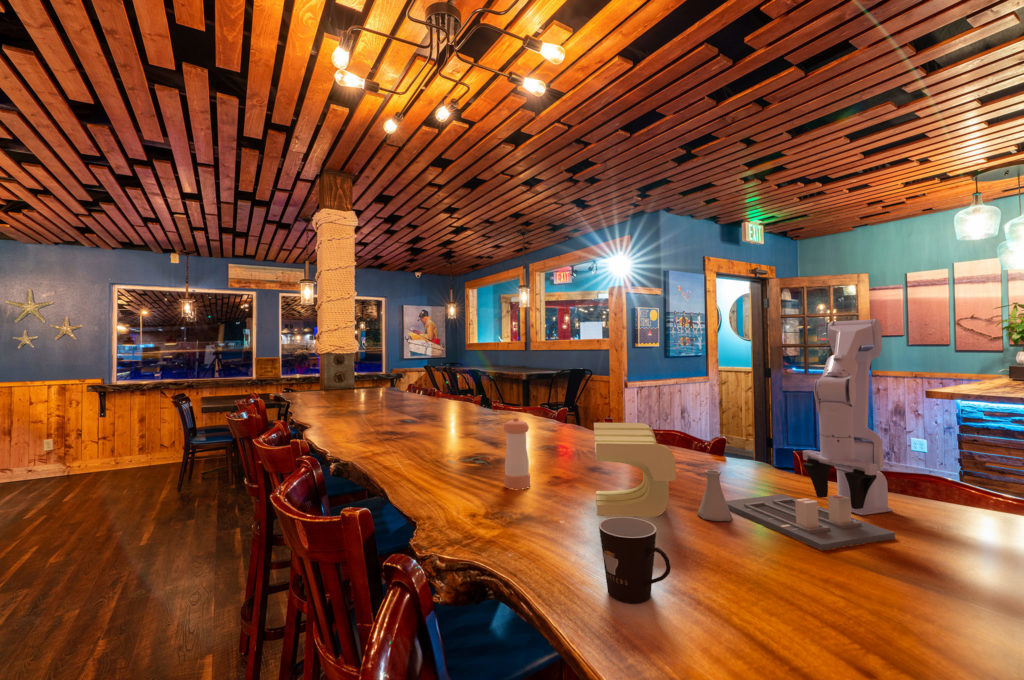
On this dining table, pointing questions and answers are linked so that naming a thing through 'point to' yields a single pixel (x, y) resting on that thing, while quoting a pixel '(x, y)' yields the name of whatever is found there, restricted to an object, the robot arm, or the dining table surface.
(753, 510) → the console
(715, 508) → the flask
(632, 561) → the coffee mug
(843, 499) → the fader
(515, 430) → the pepper shaker
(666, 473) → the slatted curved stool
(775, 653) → the dining table surface
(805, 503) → the fader
